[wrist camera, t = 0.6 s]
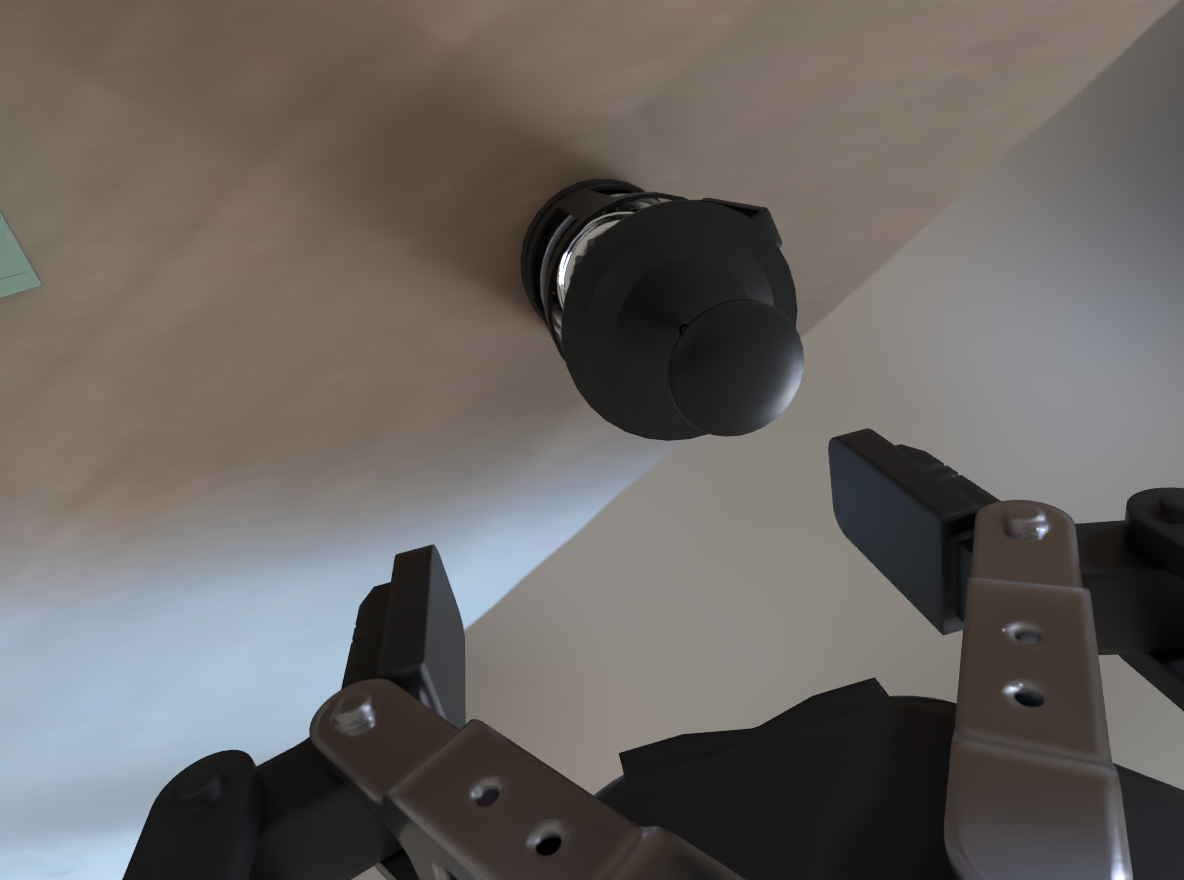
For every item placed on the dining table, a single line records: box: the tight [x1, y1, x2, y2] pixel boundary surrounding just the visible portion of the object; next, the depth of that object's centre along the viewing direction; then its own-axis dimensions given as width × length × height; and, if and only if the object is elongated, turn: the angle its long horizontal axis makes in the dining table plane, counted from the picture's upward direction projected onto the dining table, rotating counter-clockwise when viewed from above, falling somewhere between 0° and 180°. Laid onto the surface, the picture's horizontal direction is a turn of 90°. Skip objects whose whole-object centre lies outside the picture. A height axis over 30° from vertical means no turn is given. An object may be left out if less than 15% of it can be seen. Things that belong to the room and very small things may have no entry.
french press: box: [521, 179, 804, 441], centre depth 32 cm, size 12×9×23 cm
